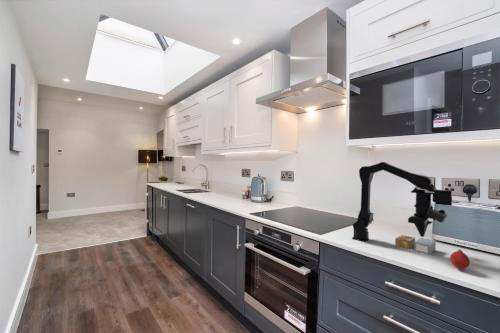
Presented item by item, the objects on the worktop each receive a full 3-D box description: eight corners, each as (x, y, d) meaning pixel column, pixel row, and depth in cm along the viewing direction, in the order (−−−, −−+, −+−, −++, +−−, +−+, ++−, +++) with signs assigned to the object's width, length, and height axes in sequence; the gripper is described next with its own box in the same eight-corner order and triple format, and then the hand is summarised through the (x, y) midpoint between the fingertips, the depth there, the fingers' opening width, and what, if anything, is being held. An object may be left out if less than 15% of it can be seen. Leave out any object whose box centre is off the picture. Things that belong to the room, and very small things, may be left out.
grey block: (414, 242, 113) (420, 237, 119) (414, 250, 113) (420, 245, 119) (429, 246, 108) (435, 240, 114) (429, 254, 109) (435, 249, 114)
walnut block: (395, 238, 120) (401, 234, 126) (395, 246, 120) (401, 242, 126) (409, 241, 116) (415, 237, 121) (408, 249, 116) (415, 245, 121)
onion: (449, 265, 98) (450, 245, 98) (468, 269, 94) (469, 249, 94) (449, 269, 93) (450, 249, 93) (469, 274, 90) (470, 253, 89)
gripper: (438, 208, 99) (437, 245, 99) (450, 203, 110) (449, 237, 110) (408, 204, 107) (407, 238, 108) (422, 200, 119) (421, 231, 119)
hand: (422, 236), depth 111 cm, fingers closed
